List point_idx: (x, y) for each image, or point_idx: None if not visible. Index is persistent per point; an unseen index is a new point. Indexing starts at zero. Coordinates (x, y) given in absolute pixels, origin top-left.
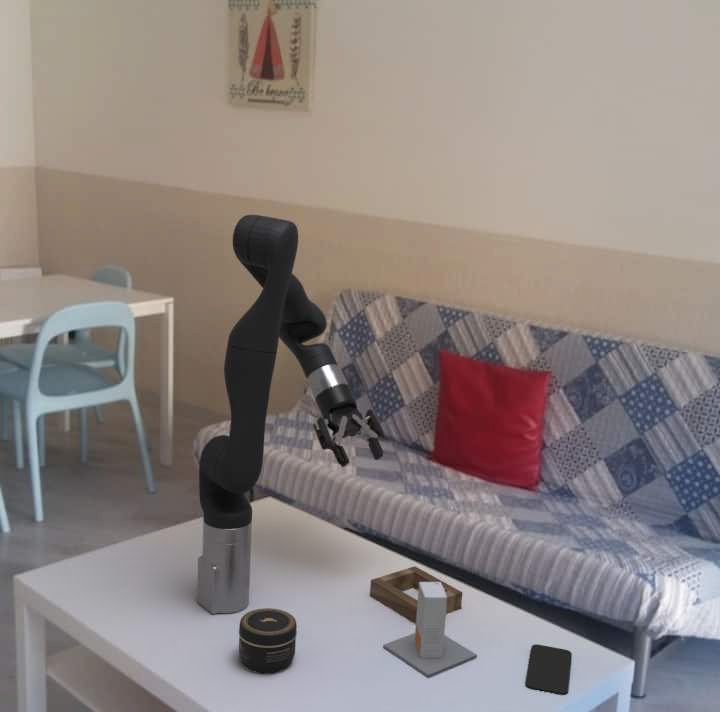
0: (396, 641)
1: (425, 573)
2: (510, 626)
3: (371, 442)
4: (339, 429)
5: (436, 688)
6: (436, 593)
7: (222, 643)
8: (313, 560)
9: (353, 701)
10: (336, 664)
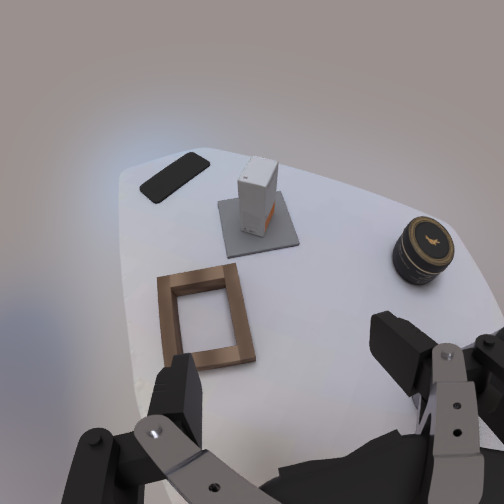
0: (282, 243)
1: (165, 343)
2: (145, 237)
3: (191, 428)
4: (474, 397)
5: (281, 181)
6: (260, 162)
7: (445, 302)
8: None
9: (353, 190)
10: (354, 235)
